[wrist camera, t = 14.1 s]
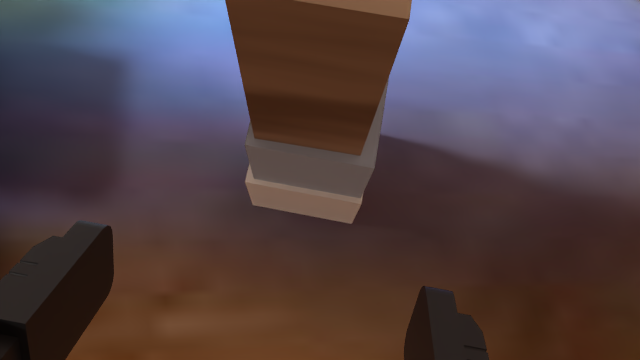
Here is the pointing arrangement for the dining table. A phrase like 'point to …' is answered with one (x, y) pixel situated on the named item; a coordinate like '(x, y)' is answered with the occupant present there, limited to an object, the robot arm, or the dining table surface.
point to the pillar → (316, 66)
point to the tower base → (302, 200)
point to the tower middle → (316, 162)
